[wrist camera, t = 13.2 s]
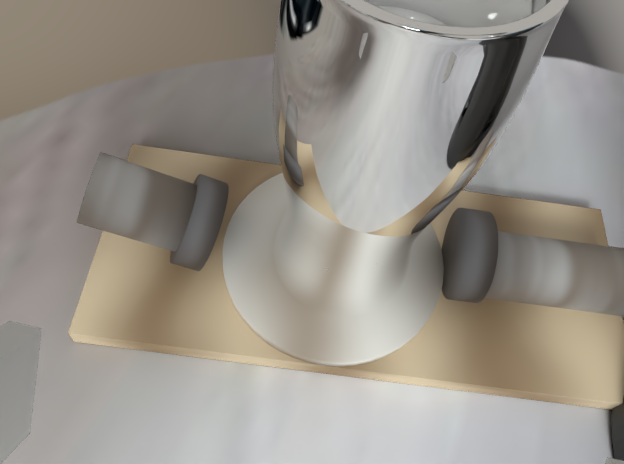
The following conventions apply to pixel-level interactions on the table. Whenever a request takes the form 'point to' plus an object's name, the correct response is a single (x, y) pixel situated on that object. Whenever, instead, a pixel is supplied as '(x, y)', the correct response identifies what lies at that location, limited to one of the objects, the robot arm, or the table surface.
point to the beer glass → (387, 129)
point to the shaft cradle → (362, 329)
